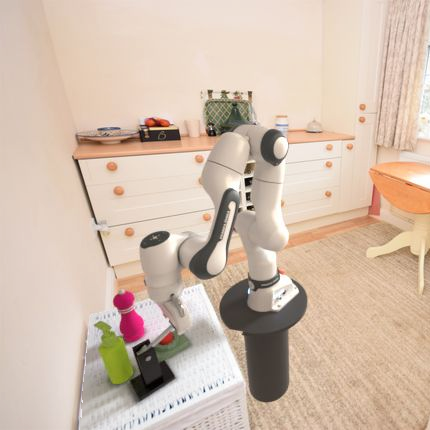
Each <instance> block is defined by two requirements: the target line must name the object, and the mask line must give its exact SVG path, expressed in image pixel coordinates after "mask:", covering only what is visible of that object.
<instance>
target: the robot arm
mask: <svg viewBox="0 0 430 430" xmlns="http://www.w3.org/2000/svg"><path fill="white" fill-rule="evenodd" d="M289 147H290V146H289V140H288V138H287V135H286V134H285V133H284V132H283V131H281V130H279V129H277V128H271V127H268V126H265V125H260V124H257V125H256V124H247V123H237V124H235V125H233V126H231V128H230V129H229V130H228V131H226V132H224V133H222V134H221V135H220V136H219V138H218V139H217V140H216V142H215V143H214V145H213V146H212V149H210V152H209V154H208V156H207V158H206V161H205V163H204V165H203V167H202V171H201V175H200V184H201V186H202V188H203V190H204V192H205V193H206V194H207V195H208V197H209V198H210V199H211V201H212V203H213V207H214V215H213V218H212V221H211V225H210V228H209V232H208V237H207V238H205V237H203V236H202V235H200V234H198V233H196V232H194V231H183V232H179V233H178V232H177V233H175V232H169V231H167V230H158V231H157V230H156V231H154V232H151V233H149V234H148V235H146V236H145V237H143V238H142V239H141V241H140V244H139V247H138V248H139V249H138V252H139V260H140V266H141V270H142V272H143V274H144V275H145V277H143V279H142V280H143V283H144V286H145V287H146V290H147V294H148V298H149V299H150V300H151V301H152V302H155V304H156V305H157V307H158V308H159V309H160V310H161V312H162V316H163V317H164V318H165V319H167V320H168V321H169V320H170V322H171V323H172V324H173V325H174V327H175V328H176V332H177V334H178V335H181V334H185V332H186V330H188V329H189V328H190V327H191V326H192V325H193V324H192V317H191V314H190V311H189V308H188V306H187V303H186V302H185V301H184V300H183V299H182V298H181V297H180V295H181V294H182V293H183V291H184V288H185V286H184V282H183V277H182V271H183V270H184V269H186V270H188V271H189V272H190V273H192V274H193V275H194V277H196V278H197V279H199V280H200V281H207V280H211V279H214V278H216V277H217V276H219V275H221V273H223V271H224V270H225V268H226V266H227V264H228V259H229V248H230V243H231V240H232V236H233V233H234V230H235V232H237V234H238V236H239V238H240V241H241V244H242V247H243V250H244V252H245V255H246V258H247V267H248V269H247V270H248V273H247V278H248V283H249V290H248V294H249V296H248V300H247V304H248V306H249V307H250V308H251V309H252V310H254V311H258V312H267V311H273V312H278V311H280V310H281V309H282V308H283V307H284V306H285V305H286V304H287V303H288V302H289V301H291V300H292V299H293V298H294V297H295V296H296V295H297V294H298V293H299V291H298V288H297V287H296V286H295V285H294V284H293V283H292V281H291V279H292V278H291V277H289V276H287V275H286V271H285V270H284V269H282V268H279V267H278V266H277V255H276V253H278V252H280V251H282V250H283V249H284V248H286V246H287V244H288V243H289V239H290V232H289V231H288V229H287V227H286V225H285V222H284V219H283V214H282V197H283V195H282V194H283V187H284V182H285V175H286V157H287V155H288V152H289ZM250 160H254V162H255V166H254V169H253V174H252V180H251V181H252V182H251V188H250V195H249V199H250V202H251V204H252V205H253V209H254V210H248V209H245V210H244V209H243V210H240V211H239V209H240V205H241V196H240V186H241V182H242V178H243V176H244V173H245V170H246V168H247V165H248V162H249V161H250ZM290 278H291V279H290Z"/></svg>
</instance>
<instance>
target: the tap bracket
mask: <svg viewBox="0 0 430 430" xmlns="http://www.w3.org/2000/svg"><path fill="white" fill-rule="evenodd" d="M151 343H152V342H151V340H150V338H147V339H145V340H143V341H141V342H140V343H137V344H135V345H134V346H132V347H131V349H132V354H133V355H134V359H135V362H136V365H137V368H138V371H139V374H138V375H136V376H135V377H133V378H130V379H129V384H130V385H131V388H132V389H133V392H134V393H135V395H136V397H137V399H138V401H139V402H142V401H143V400H144V399H146V398H148V397H149V396H151V395H152V394H154V393H156V392H158V390H160V389H161V388H163V387H165V386H166V385H168V384H169V383H171V382H173V381H174V380H176V375H175V373H174V372H173V370H172V369H171V368H170V366H169V364H168V363H167V361H166V360H163V361H162V362H160V363H159V361H158V358H157V354H156V351H155V348H154V347H152V348H150V349H148V350H147V351H145V352H143V353H141V354H139V355H137V352H138V351H139V350H140V349H141V348H142V347H143V346H144V345H146V346H149V345H150V344H151Z"/></svg>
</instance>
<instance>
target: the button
mask: <svg viewBox="0 0 430 430" xmlns="http://www.w3.org/2000/svg"><path fill="white" fill-rule="evenodd" d="M172 340H173V335H172V333H171V332H169V333H168V334H167V335H166V336H165V337H164V338H163V339H162V340H161V341H160V344H161V345H166V344H169V343H171V342H172Z"/></svg>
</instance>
